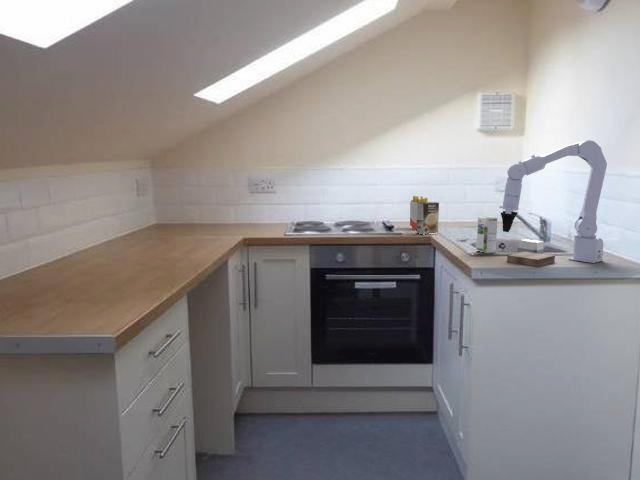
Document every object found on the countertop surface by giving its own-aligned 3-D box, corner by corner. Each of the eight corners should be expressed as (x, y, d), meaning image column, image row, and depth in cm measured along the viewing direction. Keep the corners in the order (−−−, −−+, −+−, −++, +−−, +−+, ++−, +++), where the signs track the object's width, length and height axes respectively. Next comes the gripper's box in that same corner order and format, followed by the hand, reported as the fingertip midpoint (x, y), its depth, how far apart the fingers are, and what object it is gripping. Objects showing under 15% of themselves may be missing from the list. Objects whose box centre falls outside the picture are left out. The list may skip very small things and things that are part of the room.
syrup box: (475, 251, 220) (477, 216, 218) (487, 250, 223) (488, 215, 220) (484, 253, 215) (485, 217, 213) (496, 252, 217) (498, 217, 215)
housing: (543, 256, 209) (543, 241, 208) (536, 258, 206) (537, 242, 205) (524, 253, 215) (525, 239, 214) (517, 255, 212) (518, 240, 211)
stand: (554, 262, 197) (554, 255, 196) (537, 266, 189) (537, 259, 189) (524, 257, 206) (524, 251, 205) (507, 261, 198) (507, 255, 198)
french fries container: (415, 228, 292) (415, 195, 289) (431, 230, 284) (432, 196, 281) (409, 229, 289) (410, 195, 286) (425, 231, 281) (426, 197, 278)
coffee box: (423, 235, 265) (424, 203, 263) (416, 234, 271) (416, 202, 269) (438, 234, 269) (439, 202, 267) (430, 232, 275) (431, 201, 272)
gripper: (502, 193, 212) (497, 226, 215) (499, 195, 199) (494, 231, 202) (521, 195, 210) (515, 229, 212) (519, 198, 197) (513, 234, 199)
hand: (506, 230), depth 207 cm, fingers open, 7 cm apart
